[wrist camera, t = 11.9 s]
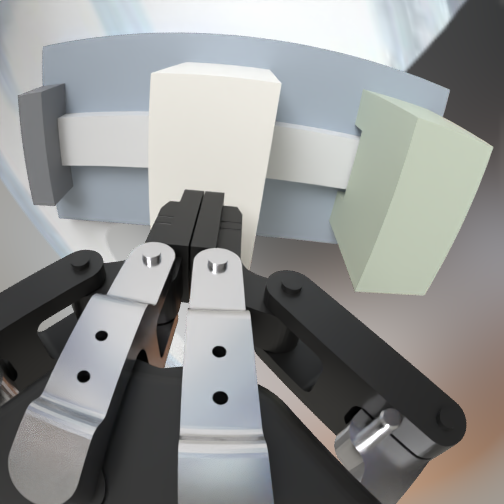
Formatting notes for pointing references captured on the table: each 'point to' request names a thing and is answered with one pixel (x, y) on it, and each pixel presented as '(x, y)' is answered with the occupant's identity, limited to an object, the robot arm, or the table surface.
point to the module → (212, 137)
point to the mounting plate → (281, 153)
